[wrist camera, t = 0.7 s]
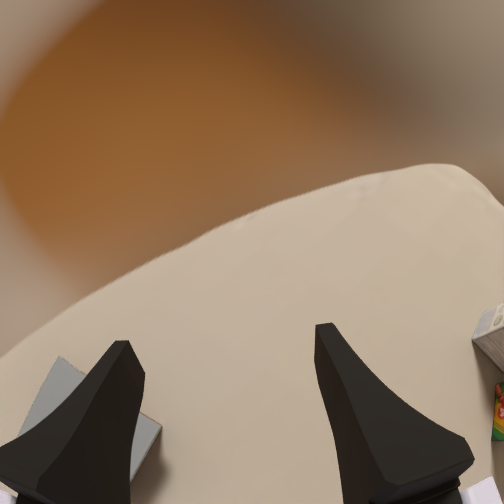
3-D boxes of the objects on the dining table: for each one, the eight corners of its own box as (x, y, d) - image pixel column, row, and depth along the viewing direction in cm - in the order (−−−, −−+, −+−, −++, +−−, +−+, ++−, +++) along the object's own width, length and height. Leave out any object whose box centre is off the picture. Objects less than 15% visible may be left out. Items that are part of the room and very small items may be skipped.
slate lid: (111, 516, 16) (91, 533, 12) (19, 444, 17) (-11, 446, 13) (162, 426, 20) (149, 430, 16) (63, 357, 22) (36, 346, 18)
